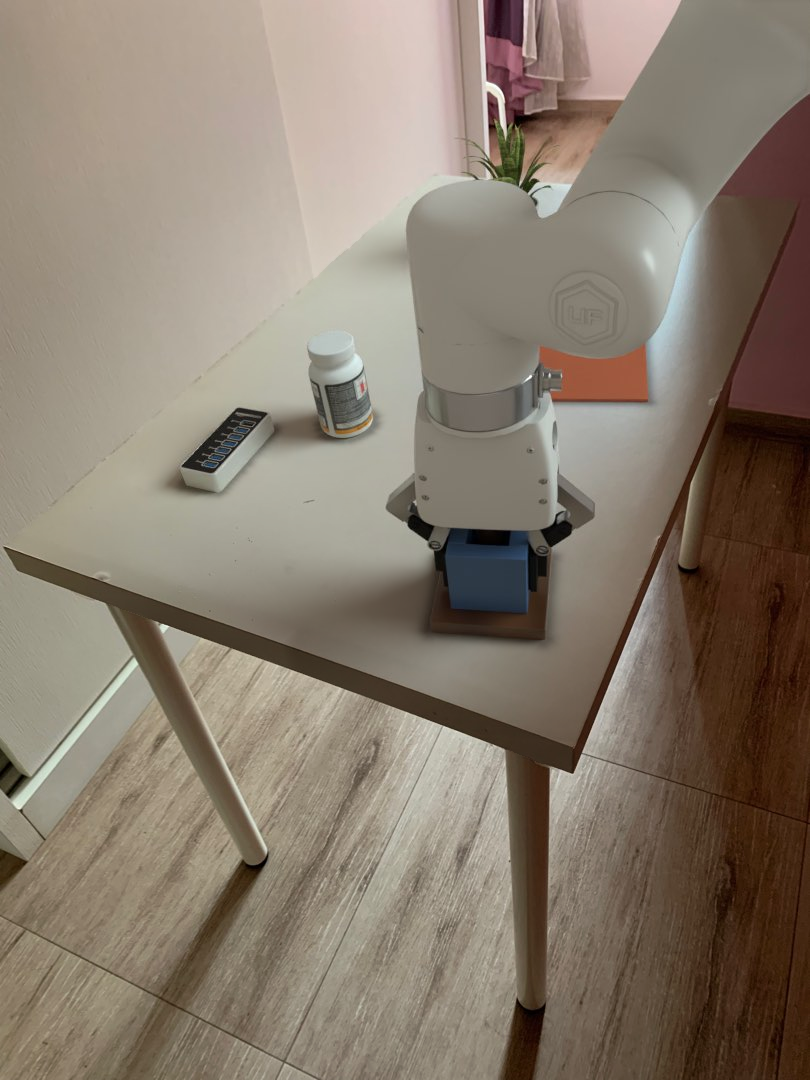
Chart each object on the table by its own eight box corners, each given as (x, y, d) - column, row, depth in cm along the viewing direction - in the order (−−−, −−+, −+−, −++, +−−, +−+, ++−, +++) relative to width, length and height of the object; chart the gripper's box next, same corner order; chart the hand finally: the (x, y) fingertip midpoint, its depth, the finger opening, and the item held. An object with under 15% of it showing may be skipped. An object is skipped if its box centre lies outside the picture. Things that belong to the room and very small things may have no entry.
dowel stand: (551, 557, 69) (552, 478, 63) (545, 640, 62) (546, 561, 56) (447, 552, 70) (438, 475, 65) (430, 632, 64) (419, 554, 58)
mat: (644, 323, 94) (644, 320, 94) (648, 402, 83) (648, 399, 83) (506, 325, 97) (506, 322, 97) (492, 401, 86) (492, 398, 86)
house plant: (443, 238, 117) (433, 117, 106) (532, 217, 119) (531, 96, 108) (476, 279, 107) (469, 149, 96) (574, 255, 109) (577, 125, 97)
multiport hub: (184, 485, 82) (177, 467, 80) (242, 423, 89) (236, 405, 87) (219, 493, 80) (213, 475, 79) (276, 429, 87) (271, 412, 85)
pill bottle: (381, 411, 87) (367, 329, 80) (362, 443, 83) (346, 359, 77) (333, 406, 89) (316, 325, 82) (312, 437, 85) (292, 355, 78)
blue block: (532, 559, 67) (532, 505, 63) (527, 614, 63) (526, 559, 59) (461, 555, 68) (455, 502, 64) (450, 609, 64) (444, 555, 60)
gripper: (617, 355, 54) (602, 549, 66) (365, 356, 57) (396, 539, 69) (617, 422, 48) (601, 619, 61) (340, 419, 52) (378, 605, 64)
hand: (492, 575), depth 65 cm, fingers closed on blue block, 6 cm apart
